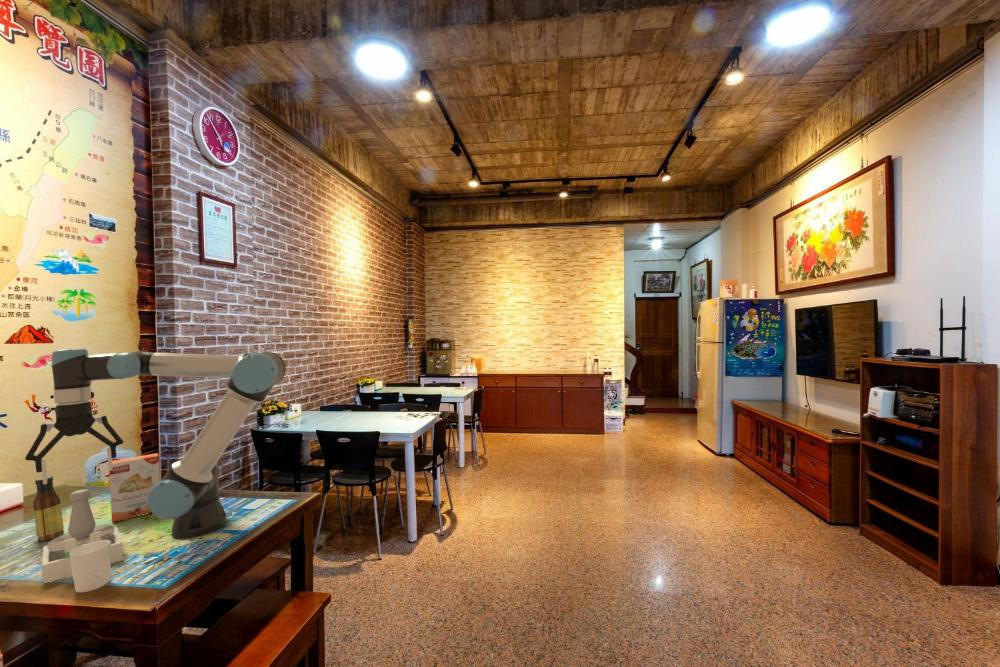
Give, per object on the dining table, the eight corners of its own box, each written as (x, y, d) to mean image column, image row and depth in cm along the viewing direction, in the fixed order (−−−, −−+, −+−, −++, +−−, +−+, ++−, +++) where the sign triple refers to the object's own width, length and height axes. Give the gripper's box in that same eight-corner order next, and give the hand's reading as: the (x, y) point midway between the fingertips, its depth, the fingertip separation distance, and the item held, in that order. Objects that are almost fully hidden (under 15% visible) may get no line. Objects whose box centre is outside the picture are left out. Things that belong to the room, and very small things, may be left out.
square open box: (123, 560, 127) (120, 526, 127) (43, 585, 116) (40, 548, 116) (117, 542, 139) (115, 511, 139) (44, 563, 128) (42, 529, 128)
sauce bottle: (68, 531, 150) (64, 473, 149) (57, 539, 144) (53, 478, 143) (42, 535, 147) (38, 476, 147) (31, 544, 141) (26, 482, 141)
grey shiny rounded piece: (118, 558, 125) (117, 537, 125) (48, 580, 115) (46, 557, 115) (113, 539, 138) (112, 520, 138) (49, 558, 128) (47, 537, 128)
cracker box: (111, 524, 154) (107, 464, 154) (112, 518, 159) (108, 460, 158) (162, 511, 163) (158, 455, 163) (161, 507, 168) (158, 452, 167)
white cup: (68, 588, 114) (65, 550, 114) (107, 573, 121) (105, 537, 120) (77, 597, 110) (74, 557, 109) (117, 581, 116) (115, 543, 116)
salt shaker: (79, 540, 124) (76, 494, 124) (63, 540, 126) (59, 494, 125) (101, 531, 130) (98, 487, 130) (85, 530, 131) (82, 486, 131)
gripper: (128, 395, 139) (133, 462, 139) (9, 409, 121) (15, 486, 121) (131, 397, 133) (136, 467, 134) (7, 411, 116) (13, 492, 116)
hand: (79, 476), depth 128 cm, fingers open, 13 cm apart
